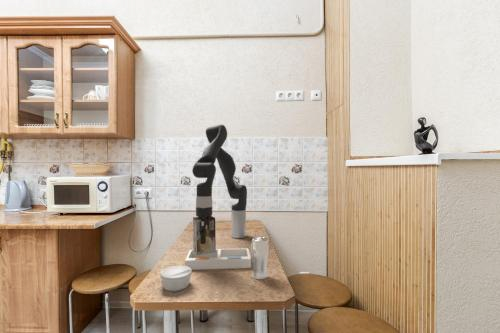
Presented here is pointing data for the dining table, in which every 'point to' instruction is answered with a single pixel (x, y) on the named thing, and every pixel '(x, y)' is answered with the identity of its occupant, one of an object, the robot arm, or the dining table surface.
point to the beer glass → (260, 257)
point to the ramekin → (176, 277)
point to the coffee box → (210, 236)
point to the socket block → (219, 259)
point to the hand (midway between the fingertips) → (204, 240)
